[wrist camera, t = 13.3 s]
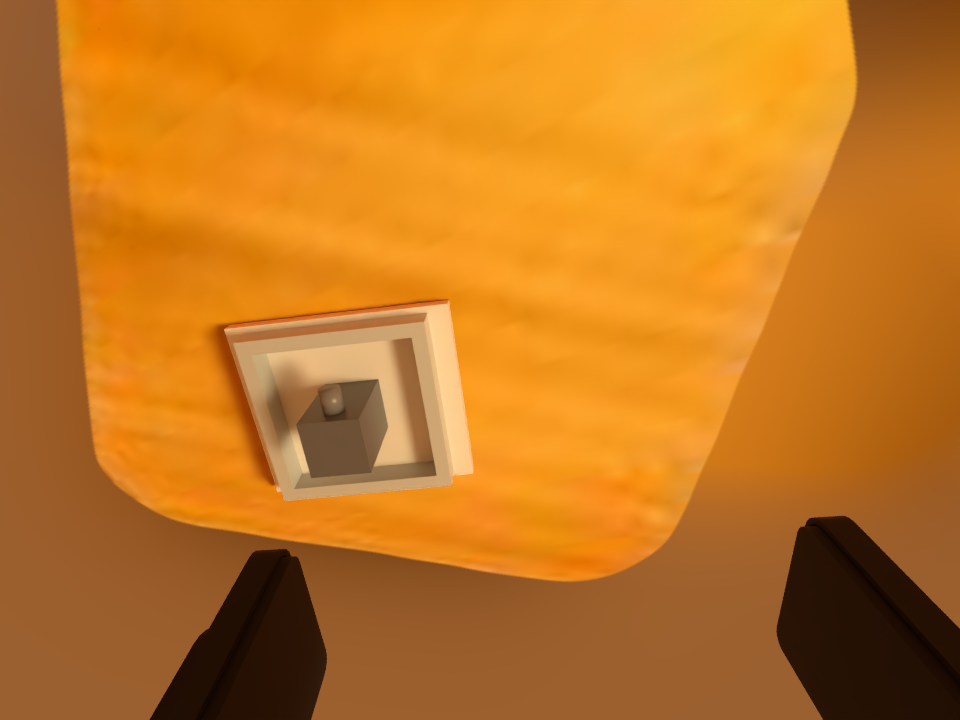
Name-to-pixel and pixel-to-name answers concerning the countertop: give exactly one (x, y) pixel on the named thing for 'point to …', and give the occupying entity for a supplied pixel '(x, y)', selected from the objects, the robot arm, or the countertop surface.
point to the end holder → (348, 358)
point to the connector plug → (343, 429)
